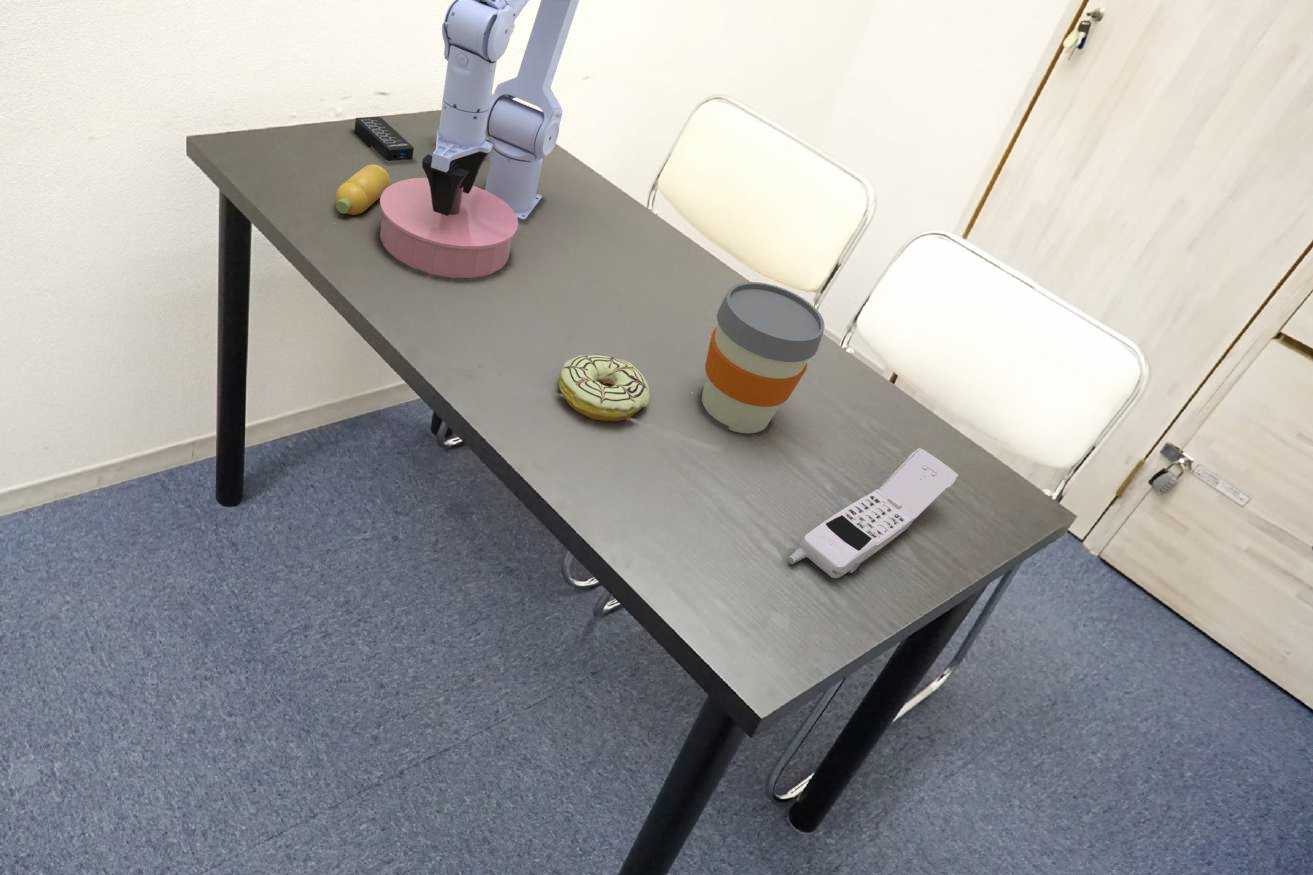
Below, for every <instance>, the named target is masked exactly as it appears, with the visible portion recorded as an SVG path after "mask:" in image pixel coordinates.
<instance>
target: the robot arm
mask: <svg viewBox="0 0 1313 875" xmlns="http://www.w3.org/2000/svg"><path fill="white" fill-rule="evenodd" d="M528 2H530V0H453V1H452V2H451V3H450V5H448V8H447V10H446V13H445V16H444V20H443V22H442V25H441V35H442V40H443V43H444V48H443V49H444V51H443V56H444V60H446V61H447V64H446V71H445V79H444V86H443V94H442V95H443V96H442V101H443V102H442V103H441V109H442V110H440V117H441V118H440V117H439V124H440V126H438V129H437V131H436V138H435V150H434V151H433V152H432V155H431V154H428V153H427V154H426V155H425V156H424V157H423V158H422V161H421V167H422V170H423V171H424V173H425V176H426V178H428V181H429V185H430V191H431V199H432V206H433V211H434V212H437V213H440V214H443V215H446V216H448V215H449V214H450V212H451V210H452V208H453V205H454V202H455V198H456V195H457V192H458V189H459V187H460V185H461V183H462V184H463V186H464V187H463V192H464V193H467V194H469V193H470V191H471V189H472V187H473V186H474V185H475V181H476V179H477V177H478V174H479V171H480V169H481V167H482V165H483V163H484V161H485V159H486V158H487V156H488V155H489V153H490V157H489V162H488V168H487V174H486V181H485V186H484V190H486V191H488V192H490V193H492V194H494V195H495V196H497V197H499V198H500V199H502V200H503V201H504V202H505V203H507V204H508V205H509V206H510V207H511V208H512V210H513V211H514V212H515V214H516V216H517V219H520V220H526V219H527V217H528V216H529V215H530V214H531V212H532V211H533V210H534V208H535V207H536V206H537V205H538V203H539V201H540V200H541V199H542V198H543V196H542V195H541V194H538V193H537V192H538V187H539V181H540V176H541V172H542V166H543V163H544V162H543V161H544V158H546V157H547V156H549V155H550V154H551V153H552V151H553V150H554V149H555V147H556V144H557V141H558V137H559V135H560V134H559V133H560V124H561V120H562V117H563V108H562V105H561V104H560V102H559V100H558V98H557V97H556V96H555V94H554V92H553V90H552V88H551V87H552V85H553V82H554V78H555V76H556V72H557V69H558V66H559V63H560V60H561V58H562V57H561V56H562V54H563V51H564V48H565V46H566V45H565V44H566V42H567V40H568V35H569V33H570V30H571V27H572V23H573V20H574V17H575V14H576V11H577V8H578V5H579V2H580V0H540V3H539V6H538V9H537V13H536V15H535V18H534V22H533V25H532V28H531V31H530V35H529V38H528V40H527V44H526V47H525V50H524V53H523V56H522V60H521V63H520V66H519V69H518V72H517V75H516V76H515V77H513V78H511V79H508V80H504V81H502V82H500V83H498V84H497V85H496V88H495V89H494V92H493V88H494V80H495V74H496V69H497V62H498V61H499V59H501V58H502V56H503V55H504V54H505V53H506V50H507V48H508V46H509V42H510V39H511V36H512V34H513V32H514V29H515V27H516V24H515V21H516V19H517V18H518V17H519V15H520V14H521V12H522V11H523V10H524V8H525V7H526V5H527V4H528ZM491 94H493V97H492V99H491ZM515 99H519V100H521V101H523V102H526V103H529V104H531V105H532V107H531V106H530V105H527V104H525V103H522V102H520V101H517V100H515ZM533 106H536V107H537V108H539V109H536V108H534V107H533ZM485 134H486V137H488V139H486V140H485Z"/></svg>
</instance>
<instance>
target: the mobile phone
mask: <svg viewBox="0 0 1313 875" xmlns="http://www.w3.org/2000/svg"><path fill="white" fill-rule="evenodd" d="M958 477H959V474H958V473H957V472H956V471H954V470H953V469H952V468H951V467H950V466H948V465H947V464H945V463H944V462H943V461H941V460H940V459H939V458H937V457H935V456H934V455H932V454H931V453H930V452H928V451H926V450H924V449H923V448H921V447H918V448H917V449H916V450H915V451H912V452H911V453H910V454H909V455H908V456H907V458H906V460H905V461H904V462H903V463H902V464H901V465H900V466H899V467H898V468H897V469H896V470H895V471H894V472H893V473H892V474H891V475H890V476H889V477H888V478H887V480H885V481H884V483H882V485H881V486H879V488H877V489H874V490H873V491H872V492H870V493H869V494H867V495H865V496H864V497H861V498H860V499H858V500H856V501H854V502H853V503H851V504H849V505H848V506H846V507H845V508H843V509H841V510H840V511H838V512H836V513H834V514H833V515H832V516H830V517H828V518H827V519H825V520H824V521H823V522H821V523H820V524H818V525H817V526H816V527H815V528H813V529H812V530H810V531H809V532H808V533H806V534H805V535H804V536H803V537H802V538H801V541H800V543H799V547H798V548H797V549H796V550H794V552H792V554H790V555H789V556H788V558H787V561H788V563H789V564H791V565H793V564H796V563H797V562H799V561H801V560H803V559H805V558H807V559H809V560H810V561H811V562H812V563H813V564H815V565H816V566H817V567H818V568H819V569H821V571H823V572H825V574H827V575H828V576H829V577H830V578H832V579H839V578H841V577H842V576H844V575H846V574H847V573H850V574H852V573H854V572H855V571H856V570H857V569H858V568H859V566H860V564H862V563H863V562H865V561H866V560H867V559H869V558H870V557H872V556H873V555H874V554H876V553H877V552H879V551H880V550H881V549H883V548H884V547H885V546H887V545H888V544H889V543H890V542H892V541H893V540H894V539H896V538H898V536H900V535H901V534H902V533H903V532H905V531H906V530H907V529H908V528H910V526H911V525H912V524H913V522H914V521H915V520H916V519H917V518H918V517H919V516H920V515H921V514H922V513H923V512H924V511H925V510H926V509H927V508H928V507H929V506H930V505H931V504H932V503H933V502H934V501H935V500H936V499H938V498H939V497H940V495H942V493H943V492H944V491H945V490H946V489H947V488H950V487H951V486H952V485H953V484H954V483H955V482H956V479H957V478H958Z"/></svg>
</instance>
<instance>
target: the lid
mask: <svg viewBox="0 0 1313 875" xmlns="http://www.w3.org/2000/svg"><path fill="white" fill-rule="evenodd" d="M463 187H464V186H463V184H462V183H461V185H460V187H459V189H458V192H457V195H456V198H455V202H454V205H453V208H452V210H451V212H450V214H449V215H448V216H446V215H443V214H440V213H437V212H434V211H433V206H432V199H431V191H430V185H429V181H428V178H427V177H415V178H408V179H403V180H400V181H397V182H394V183H392V184H390V185H389V187H387V188H386V189H385V190H384V191H383V193H382V195H381V197H380V198H379V207H380V211H381V214H382V213H383V215H384V216H385V217H386V219H387V220H388V221H389V222H390V223H391V224H393V225H394V226H395V227H396V228H398V229H399V230H401V231H403V232H404V233H406V234H408V235H410V236H412V237H414V238H417V239H419V240H422V241H425V242H428V243H431V244H435V245H439V246H444V247H450V248H458V249H484V248H490V247H495V246H498V245H501V244H503V243H505V242H507V241H509V240H510V239H511V238H512V237H513V238H514V237H515V236H516V234H517V232H518V228H519V220H518V219H519V218H518V217H517V216H516V214H515V212H514V211H513V210H512V208H511V207H510V206H509V205H508V204H507V203H505V202H504V201H503V200H502V199H500V198H499V197H497V196H495V195H494V194H492V193H490V192H488V191H486V190H485V189H483V188H481V187H478V186H476V185H473V187H472V189H471V191H470V193H469V194H467V193H464V192H463ZM513 238H512V239H513Z"/></svg>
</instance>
